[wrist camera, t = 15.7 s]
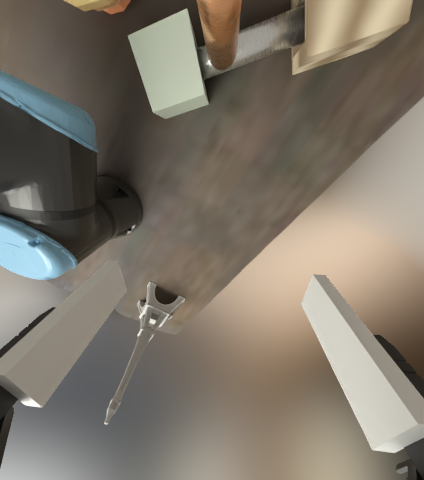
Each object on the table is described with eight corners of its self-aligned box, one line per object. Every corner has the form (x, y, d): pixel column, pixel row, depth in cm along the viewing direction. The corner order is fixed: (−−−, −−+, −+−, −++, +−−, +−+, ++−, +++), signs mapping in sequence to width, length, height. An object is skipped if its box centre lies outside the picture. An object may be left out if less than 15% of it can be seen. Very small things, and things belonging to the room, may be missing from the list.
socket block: (165, 119, 33) (152, 112, 27) (146, 58, 29) (127, 35, 23) (208, 104, 31) (204, 94, 26) (195, 37, 27) (187, 8, 22)
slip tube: (177, 96, 30) (122, 35, 14) (168, 64, 28) (94, -47, 12) (306, 49, 26) (425, -107, 10) (306, 8, 24) (454, -261, 8)
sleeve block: (292, 75, 28) (307, 57, 23) (290, -2, 24) (308, -45, 19) (371, 48, 26) (408, 21, 21) (384, -42, 22) (433, -102, 17)
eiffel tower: (137, 303, 60) (67, 422, 34) (149, 281, 54) (76, 402, 28) (170, 318, 62) (128, 439, 36) (185, 298, 57) (149, 425, 30)
